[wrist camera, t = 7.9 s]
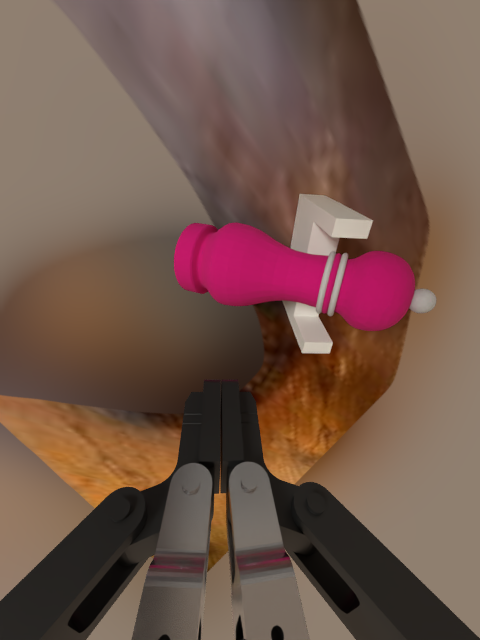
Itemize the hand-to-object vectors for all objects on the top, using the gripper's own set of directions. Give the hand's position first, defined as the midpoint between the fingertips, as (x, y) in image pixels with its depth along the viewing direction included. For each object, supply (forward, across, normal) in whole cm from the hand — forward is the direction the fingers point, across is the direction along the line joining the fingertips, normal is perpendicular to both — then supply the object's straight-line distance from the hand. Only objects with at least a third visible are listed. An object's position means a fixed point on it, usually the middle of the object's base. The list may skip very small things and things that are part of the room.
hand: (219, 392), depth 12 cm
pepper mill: (+16, +3, 0) cm, 17 cm away
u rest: (+19, -9, 0) cm, 21 cm away
